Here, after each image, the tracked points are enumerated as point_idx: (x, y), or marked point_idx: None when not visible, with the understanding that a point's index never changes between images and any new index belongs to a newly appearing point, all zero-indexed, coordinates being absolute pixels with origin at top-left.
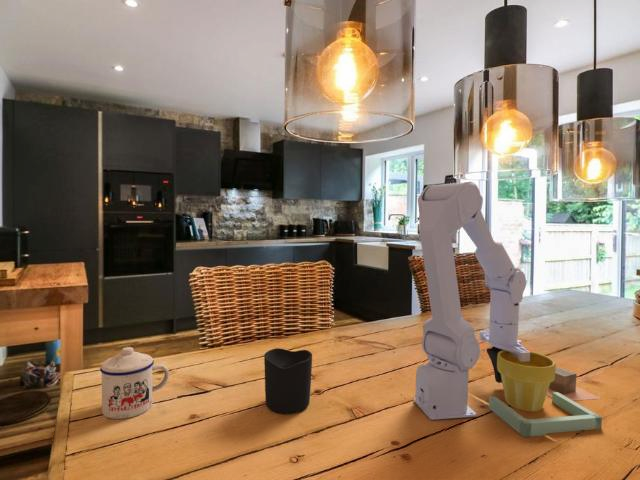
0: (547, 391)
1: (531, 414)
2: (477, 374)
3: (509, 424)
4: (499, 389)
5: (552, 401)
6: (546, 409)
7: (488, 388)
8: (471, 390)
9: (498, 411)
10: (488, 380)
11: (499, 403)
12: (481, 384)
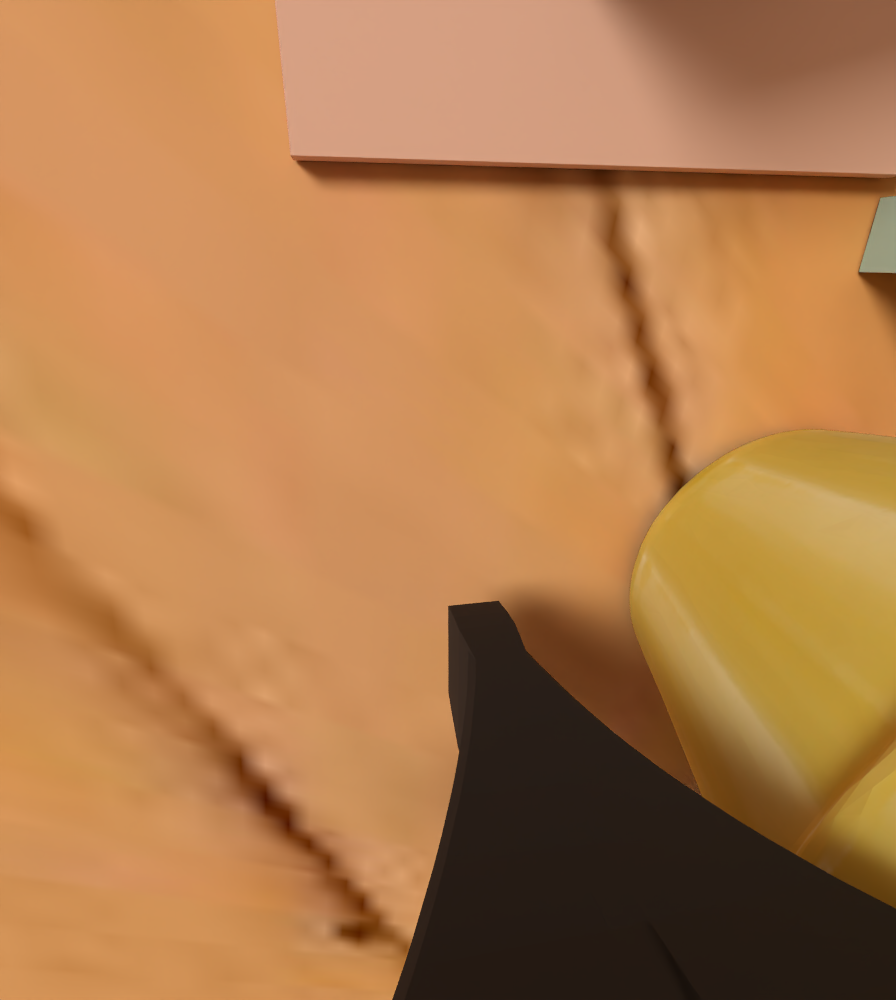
0: (674, 65)
1: None
2: (25, 645)
3: None
4: (449, 601)
5: (892, 272)
6: (890, 416)
7: (415, 682)
8: (435, 808)
9: None
10: (214, 604)
11: None
12: (321, 705)
